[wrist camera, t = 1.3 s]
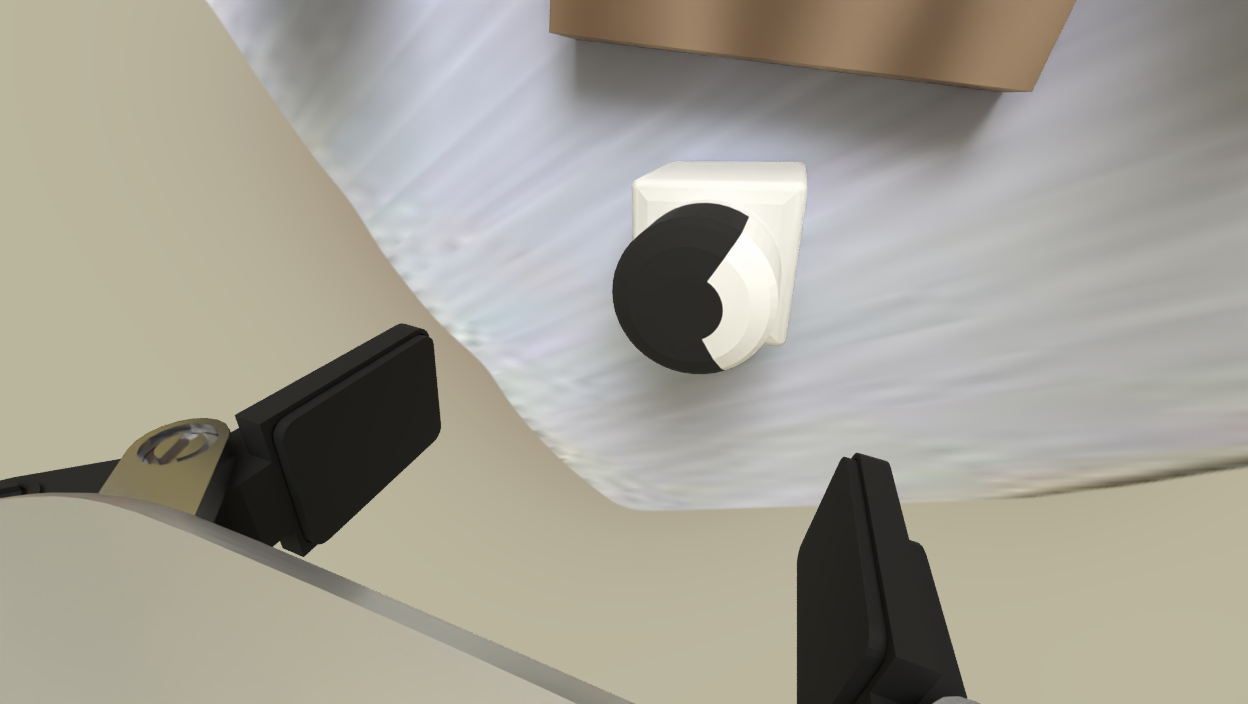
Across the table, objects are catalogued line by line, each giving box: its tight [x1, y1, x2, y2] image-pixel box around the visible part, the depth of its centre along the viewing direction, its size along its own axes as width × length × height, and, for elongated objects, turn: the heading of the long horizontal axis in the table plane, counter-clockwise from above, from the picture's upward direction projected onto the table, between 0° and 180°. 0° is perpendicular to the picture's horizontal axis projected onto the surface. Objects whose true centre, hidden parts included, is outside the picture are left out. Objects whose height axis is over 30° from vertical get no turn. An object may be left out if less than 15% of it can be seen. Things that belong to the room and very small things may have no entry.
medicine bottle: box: [612, 161, 808, 374], centre depth 22 cm, size 7×7×12 cm
